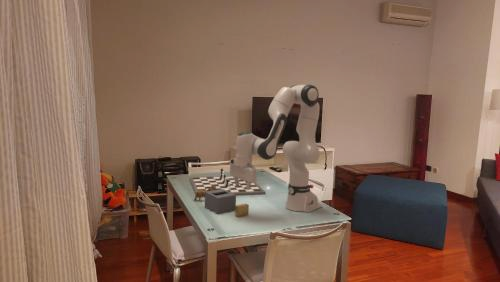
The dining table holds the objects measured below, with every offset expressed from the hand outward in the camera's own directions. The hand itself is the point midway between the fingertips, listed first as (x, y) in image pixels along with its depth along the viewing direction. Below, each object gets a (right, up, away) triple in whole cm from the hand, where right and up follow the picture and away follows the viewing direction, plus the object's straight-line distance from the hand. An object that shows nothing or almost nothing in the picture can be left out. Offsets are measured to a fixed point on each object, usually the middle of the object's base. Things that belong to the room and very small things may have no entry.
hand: (242, 187), depth 195 cm
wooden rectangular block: (0, -16, +2) cm, 16 cm away
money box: (-13, -14, +13) cm, 23 cm away
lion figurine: (-23, -12, +27) cm, 37 cm away
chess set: (-13, -8, +59) cm, 62 cm away
